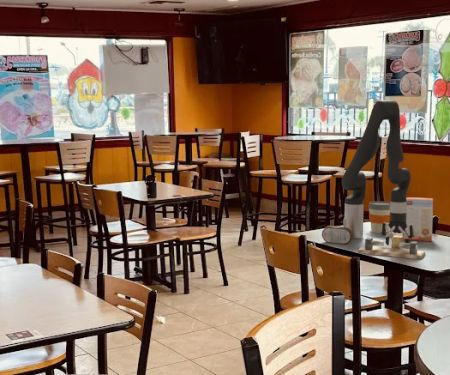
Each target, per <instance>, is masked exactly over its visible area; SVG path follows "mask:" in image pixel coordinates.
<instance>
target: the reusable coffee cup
mask: <svg viewBox="0 0 450 375" xmlns="http://www.w3.org/2000/svg"><path fill="white" fill-rule="evenodd" d="M390 204H391V201H381V200H380V201H378V200H377V201H370V202H368V210H369V212H368V216H369V217H368V218H369V222H370V230H371V231H370V232H373V233H376V234H377V233H378V234H379V233H381V234H382V225H383V223H384V222H386V223H389V222H390ZM389 231H390V227H389V226H387V227H386V233H388V232H389Z"/></svg>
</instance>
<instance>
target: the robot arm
mask: <svg viewBox="0 0 450 375" xmlns="http://www.w3.org/2000/svg"><path fill="white" fill-rule="evenodd" d="M383 121H388V124H389V131H388V132H389V133H388V136H387V140H386V144H385V145H386V146H385V149H386V156H387V160H388V163H387V174H386V175H387V179H388V181H389V182H390V183H391V184H393V185H396V187H394V188H393V189H391V192H390V202H391V204H390V222H389V223H386V222H384V223H383V225H382V233H381V236H384V237H385V241H384V244H386V245H387V246H389V245H390V235H391V234H392V233H393V234H402V236H403V235H404V236H405V237H406V239H405V240H404V241H405V242H404V243H409V244H410V240H409V238H412V237H413V236H414V232H413V224H411V225H407V224H406V215H407V204H406V197H407V196H408V195H407V194H408V190H409V186H410V183H411V178H412V177H411V176H412V175H411V171H410V170H409V169H408V168H407V167H400V168H399V166H400V163H403V162H404V160H405V156H404V152H403V151H404V150H403V147H402V139H401V138H402V137H401V113H400V106H399V103H398V102H397V101H396V100H394V99H380V100H377V101H376V102H375V103H374V105H373V106H372V109H371V112H370V115H369V118H368V122H367V124H366V127H365V130H364V132H363V134H362V137H361V139H360V140H359V143H358V145H357V147H356V151H355V153H354V155H353V157H352V159H351V160H350V162H349V164H348V166H347V168H346V170H345V172H343V176H342V179H341V187H342V188H343V189H344V190H346V191H352V192H351V193H350V194H349V195H348V196H346V197H345V199H344V218H343V219H342V220H343V221H342V223H343V225H342V227H347V228H349V229H350V230H351V231H352V233H353V239H352V240H354V239H355V240H357V239H363V238H364V202H365V199H366V192H367V191H366V190H367V178H366V175H365V173H364V172H363V171H362V169H363V168H364V167H365V166H366V165H367V164H368V163H369V162H371V161H372V160H373V159H374V157H375V156H376V154H377V152H378V149H379V147H380V145H381V142H380V141H381V140H380V134H379V129H380V128H381V125H382V122H383ZM387 226H389V232H386V227H387ZM407 227H408V229H409V230H410V235H408V233H407V231H406V230H405V229H406V228H407Z"/></svg>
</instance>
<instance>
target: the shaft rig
mask: <svg viewBox="0 0 450 375" xmlns="http://www.w3.org/2000/svg"><path fill="white" fill-rule="evenodd" d="M373 238H374V237H366V238H365V239H364V245H363V246H362V247H360V248H358V249H357V253H358V254H363V253H366V254H365V255H374V256H375V255H376V256H385V257H394V258H395V257H396V258H403V259H404V258H406V259H413V260H414V259H415V260H422V259H423V258H424V257H425V256H426V251H425V250H418V249H419V248H418V246H419V245H418V241H415V240H411V242H409V243H405V242H404V241H403V242H400V243H399V247H400V248H403V249H395V248H392V247H384V246H385V245H384V244H385V240H376V239H375V240H374V239H373Z"/></svg>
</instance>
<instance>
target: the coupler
mask: <svg viewBox="0 0 450 375" xmlns="http://www.w3.org/2000/svg"><path fill="white" fill-rule="evenodd" d="M400 242H403V243H404V240H403V235H397V234H396V235H395V234H394V235H393V236H391V248H395V249H404V248H400V247H399V243H400Z"/></svg>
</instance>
